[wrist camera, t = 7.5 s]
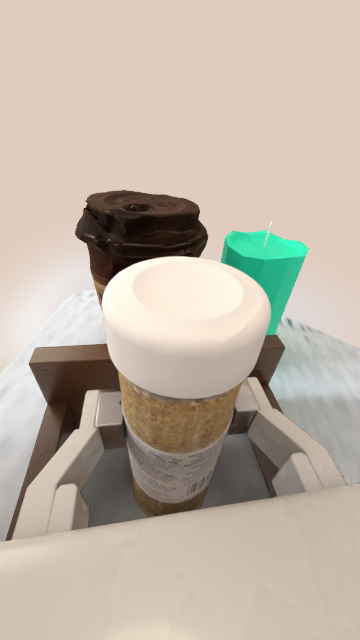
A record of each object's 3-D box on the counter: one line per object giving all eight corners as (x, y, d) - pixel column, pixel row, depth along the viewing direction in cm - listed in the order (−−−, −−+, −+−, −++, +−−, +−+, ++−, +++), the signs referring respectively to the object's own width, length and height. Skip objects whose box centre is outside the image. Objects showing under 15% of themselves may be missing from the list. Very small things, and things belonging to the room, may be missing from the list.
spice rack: (17, 618, 10) (-82, 610, 6) (65, 417, 17) (35, 347, 13) (315, 556, 12) (401, 516, 8) (250, 399, 20) (276, 334, 15)
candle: (279, 362, 23) (338, 234, 16) (220, 372, 22) (254, 237, 14) (249, 322, 27) (284, 209, 20) (199, 329, 26) (216, 209, 19)
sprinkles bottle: (181, 429, 17) (205, 243, 9) (223, 494, 14) (315, 306, 6) (120, 464, 15) (77, 265, 7) (153, 549, 12) (148, 379, 4)
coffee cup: (125, 400, 19) (104, 228, 11) (84, 339, 24) (49, 190, 16) (208, 353, 23) (236, 208, 15) (159, 310, 28) (161, 183, 20)
